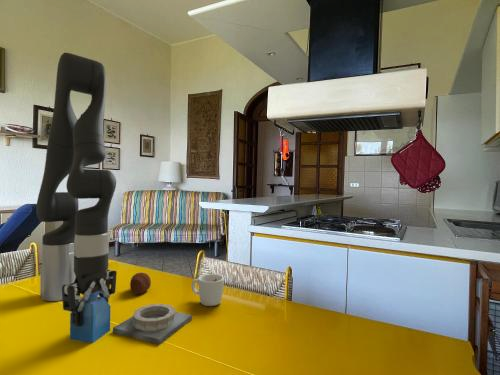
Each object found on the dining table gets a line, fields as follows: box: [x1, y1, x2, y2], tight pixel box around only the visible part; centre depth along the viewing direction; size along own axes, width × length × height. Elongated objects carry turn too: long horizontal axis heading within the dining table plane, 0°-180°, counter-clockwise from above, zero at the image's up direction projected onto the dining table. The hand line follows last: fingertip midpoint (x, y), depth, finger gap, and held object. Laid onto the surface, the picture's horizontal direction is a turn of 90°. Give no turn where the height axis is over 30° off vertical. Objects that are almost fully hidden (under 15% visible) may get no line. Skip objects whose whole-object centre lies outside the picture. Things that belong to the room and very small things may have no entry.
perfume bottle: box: [69, 286, 111, 344], centre depth 75 cm, size 6×6×12 cm
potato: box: [129, 272, 152, 295], centre depth 105 cm, size 7×9×6 cm
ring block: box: [112, 303, 193, 345], centre depth 81 cm, size 14×14×4 cm
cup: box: [191, 273, 225, 307], centre depth 97 cm, size 11×8×8 cm
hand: (91, 319), depth 75 cm, fingers closed on perfume bottle, 6 cm apart
